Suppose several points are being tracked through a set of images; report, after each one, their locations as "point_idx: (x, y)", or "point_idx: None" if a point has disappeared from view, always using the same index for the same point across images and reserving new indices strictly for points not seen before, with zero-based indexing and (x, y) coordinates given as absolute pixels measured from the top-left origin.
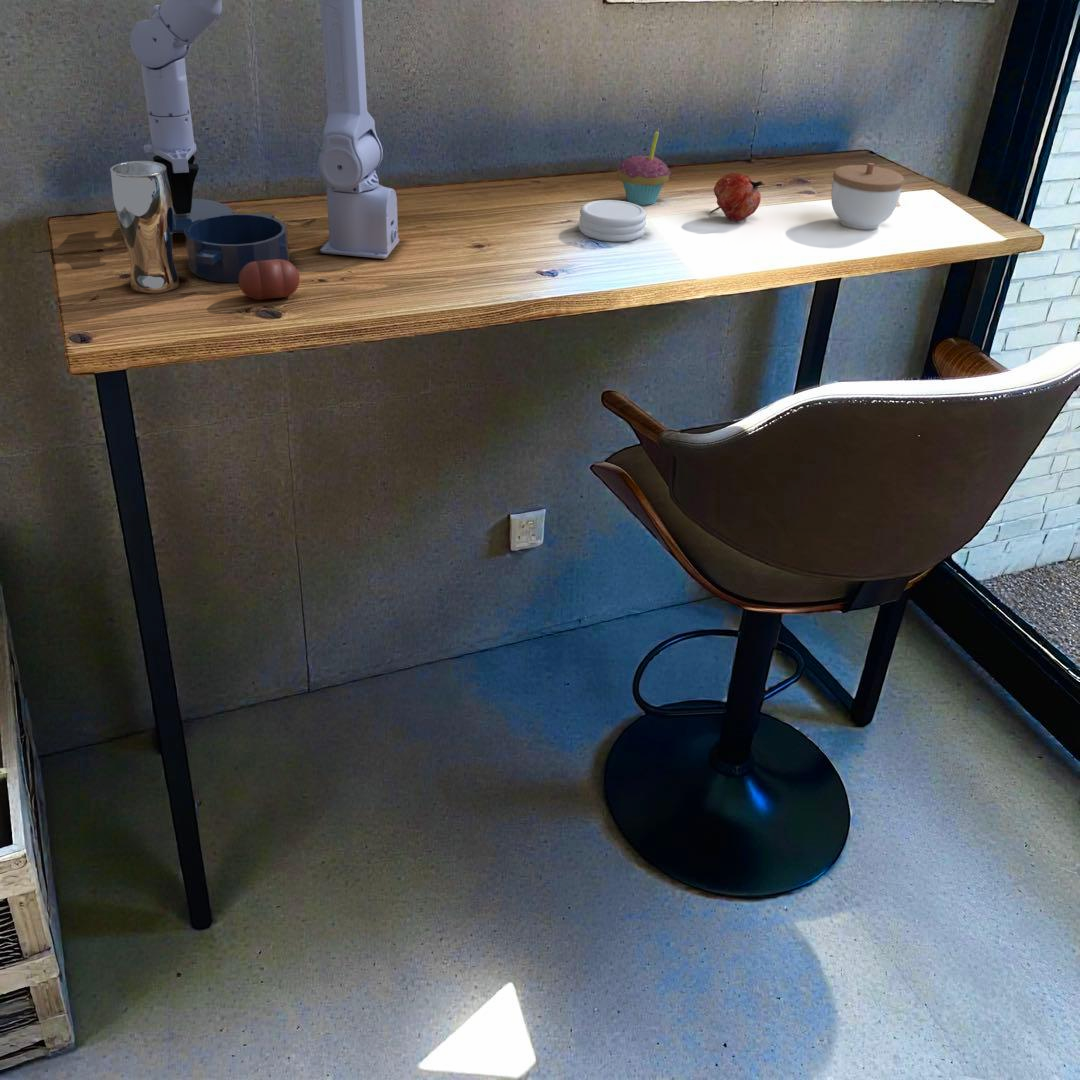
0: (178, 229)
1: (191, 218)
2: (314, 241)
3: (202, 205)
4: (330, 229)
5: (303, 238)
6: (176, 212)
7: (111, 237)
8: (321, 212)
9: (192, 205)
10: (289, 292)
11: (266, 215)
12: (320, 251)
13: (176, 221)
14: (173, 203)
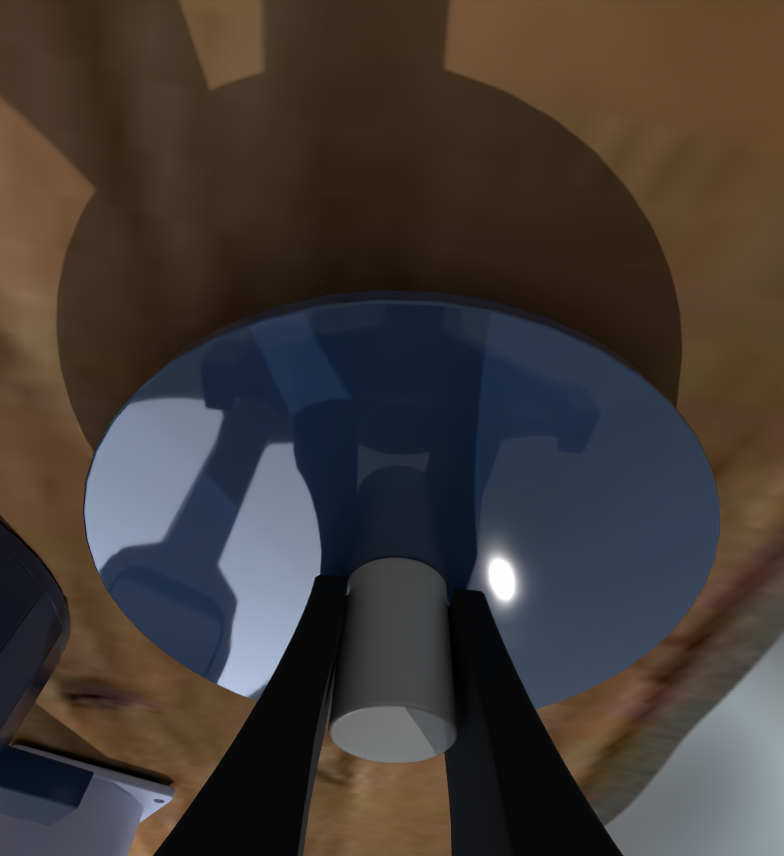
0: (85, 518)
1: (283, 604)
2: (141, 750)
3: None
4: (4, 837)
5: (174, 741)
6: (313, 585)
7: (415, 54)
8: (400, 802)
9: (510, 647)
10: None
11: (37, 815)
12: (17, 746)
13: (247, 540)
14: (291, 638)
